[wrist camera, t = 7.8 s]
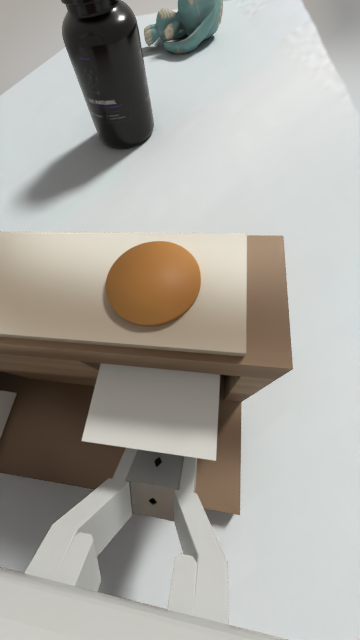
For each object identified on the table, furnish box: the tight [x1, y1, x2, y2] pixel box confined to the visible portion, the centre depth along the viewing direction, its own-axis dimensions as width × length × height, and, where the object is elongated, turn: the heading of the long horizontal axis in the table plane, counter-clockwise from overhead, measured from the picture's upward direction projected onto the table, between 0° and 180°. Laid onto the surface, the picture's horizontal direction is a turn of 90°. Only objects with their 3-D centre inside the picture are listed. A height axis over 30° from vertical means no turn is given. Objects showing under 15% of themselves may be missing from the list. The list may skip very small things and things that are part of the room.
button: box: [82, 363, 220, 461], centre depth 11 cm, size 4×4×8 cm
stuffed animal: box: [144, 0, 223, 54], centre depth 34 cm, size 11×7×12 cm
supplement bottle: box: [61, 0, 154, 148], centre depth 23 cm, size 7×7×12 cm
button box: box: [0, 232, 293, 515], centre depth 11 cm, size 10×20×11 cm, turn 83°
